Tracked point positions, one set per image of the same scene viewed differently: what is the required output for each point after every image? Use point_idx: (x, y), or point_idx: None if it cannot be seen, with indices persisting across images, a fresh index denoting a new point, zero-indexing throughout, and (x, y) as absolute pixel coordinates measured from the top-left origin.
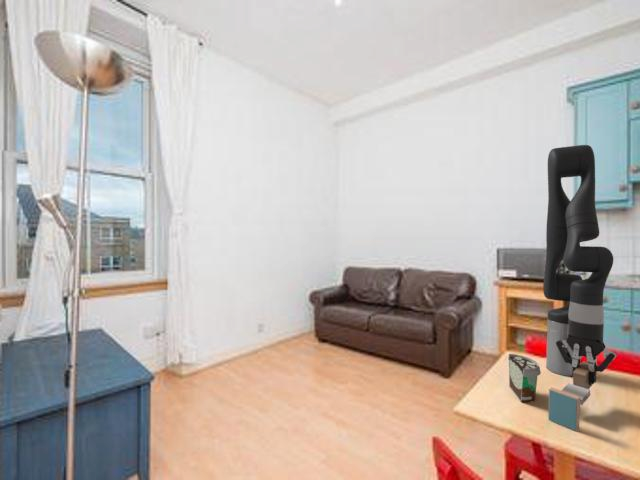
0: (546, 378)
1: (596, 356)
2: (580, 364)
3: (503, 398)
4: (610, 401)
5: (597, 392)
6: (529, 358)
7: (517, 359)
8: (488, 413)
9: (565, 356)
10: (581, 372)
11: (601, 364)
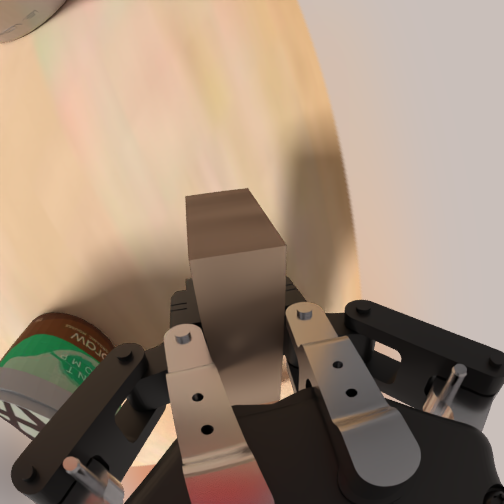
0: (13, 123)
1: (361, 364)
2: (203, 326)
3: None
4: (256, 94)
5: (190, 49)
6: (12, 403)
7: (2, 409)
8: (139, 453)
9: (138, 431)
10: (256, 390)
11: (379, 386)
